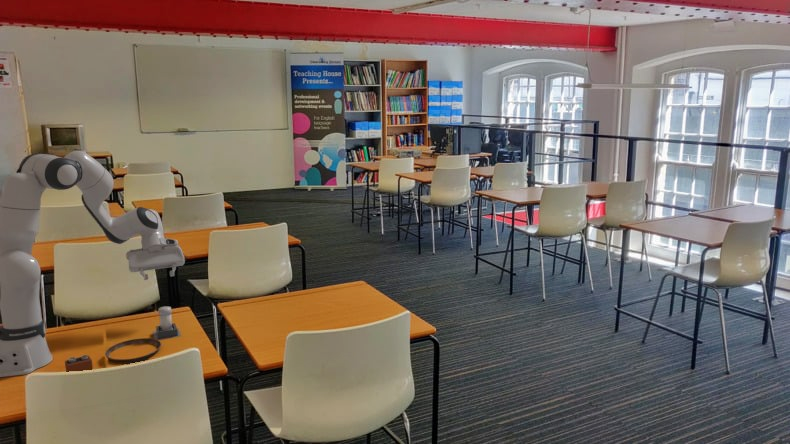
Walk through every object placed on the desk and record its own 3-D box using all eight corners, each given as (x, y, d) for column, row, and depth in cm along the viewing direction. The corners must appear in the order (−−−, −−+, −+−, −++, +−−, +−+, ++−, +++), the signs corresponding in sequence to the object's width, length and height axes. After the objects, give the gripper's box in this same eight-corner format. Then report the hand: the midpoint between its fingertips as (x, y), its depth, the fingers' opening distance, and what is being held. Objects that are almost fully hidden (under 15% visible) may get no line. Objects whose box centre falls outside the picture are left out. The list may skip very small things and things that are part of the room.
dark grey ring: (101, 370, 194) (100, 361, 193) (111, 349, 210) (110, 341, 210) (158, 364, 198) (158, 355, 198) (164, 343, 215) (163, 335, 214)
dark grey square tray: (155, 343, 214) (154, 334, 213) (153, 335, 222) (152, 325, 221) (181, 339, 218) (180, 329, 217) (178, 330, 226) (177, 321, 225)
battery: (67, 388, 181) (64, 357, 179) (92, 382, 185) (88, 352, 183) (70, 393, 178) (66, 362, 176) (95, 387, 182) (91, 356, 180)
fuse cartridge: (161, 337, 217) (158, 311, 215) (160, 333, 221) (157, 307, 219) (174, 335, 219) (171, 309, 217) (172, 331, 223) (170, 305, 221)
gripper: (125, 246, 227) (129, 277, 220) (181, 239, 236) (187, 269, 229) (125, 254, 231) (130, 285, 225) (180, 248, 240) (186, 277, 234)
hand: (159, 277), depth 227 cm, fingers open, 8 cm apart
